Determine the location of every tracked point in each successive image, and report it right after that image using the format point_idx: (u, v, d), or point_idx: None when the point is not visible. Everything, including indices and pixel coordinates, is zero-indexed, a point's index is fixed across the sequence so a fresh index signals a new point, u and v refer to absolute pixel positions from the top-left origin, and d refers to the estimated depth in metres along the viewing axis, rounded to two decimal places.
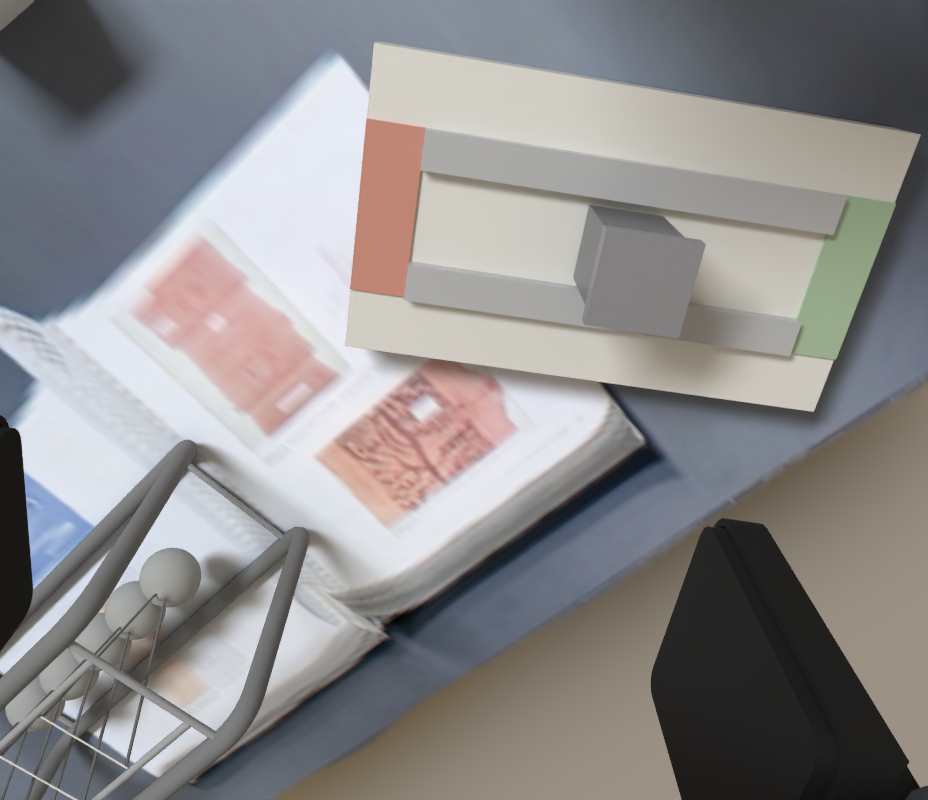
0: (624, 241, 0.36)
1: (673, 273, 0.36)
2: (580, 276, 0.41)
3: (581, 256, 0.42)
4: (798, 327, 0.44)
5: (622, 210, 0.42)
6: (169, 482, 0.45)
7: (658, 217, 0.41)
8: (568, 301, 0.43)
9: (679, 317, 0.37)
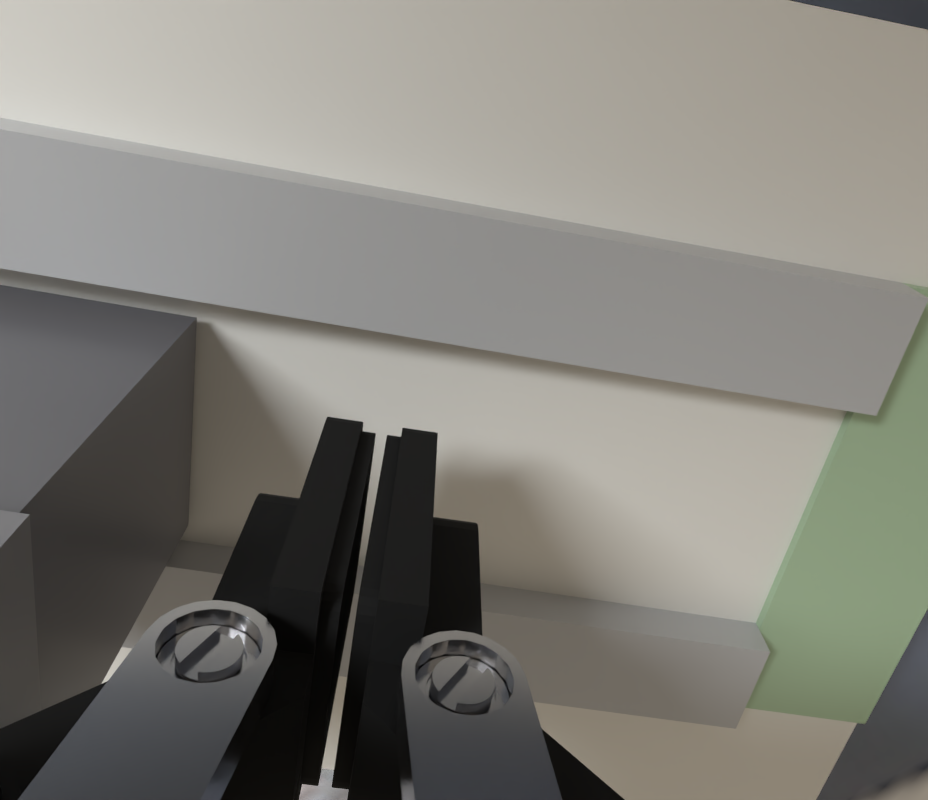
0: None
1: None
2: None
3: None
4: (760, 661, 0.15)
5: (48, 296, 0.12)
6: None
7: (162, 325, 0.12)
8: None
9: None
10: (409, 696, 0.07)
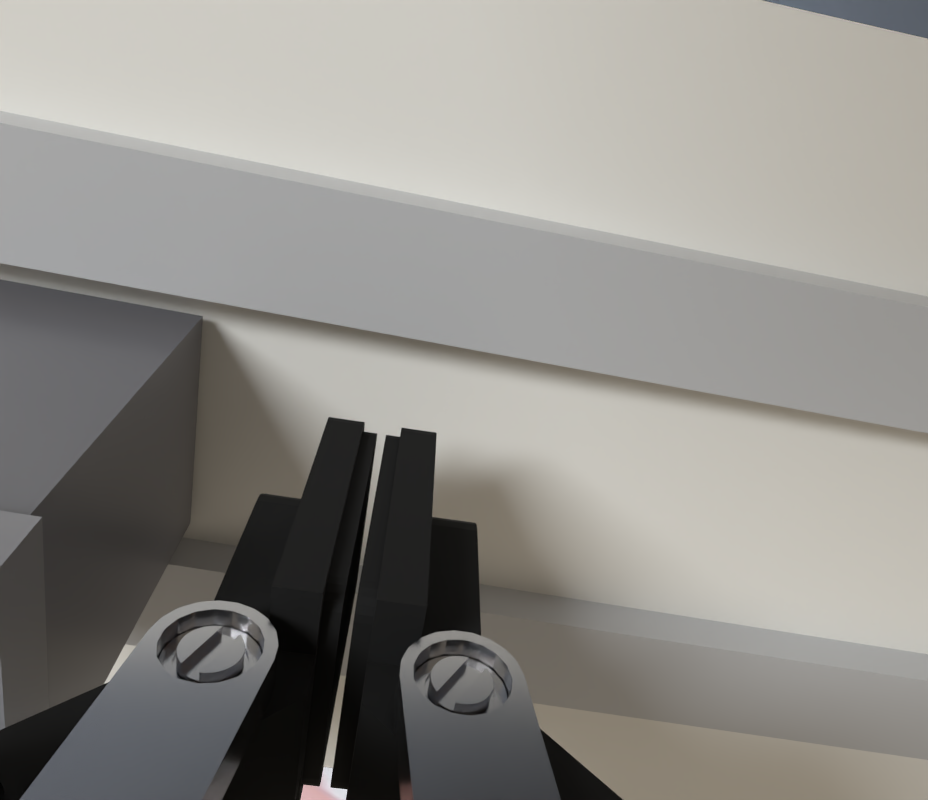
0: None
1: None
2: None
3: None
4: None
5: (54, 293, 0.12)
6: None
7: (168, 323, 0.12)
8: None
9: None
10: (407, 697, 0.07)
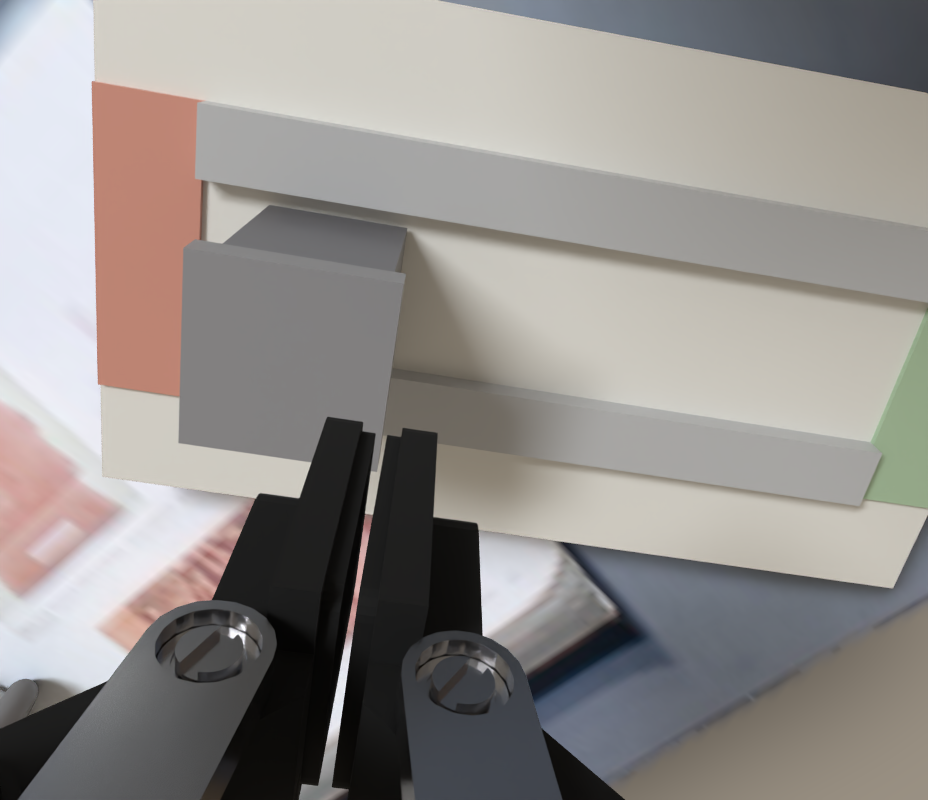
0: (227, 274, 0.17)
1: (345, 343, 0.17)
2: None
3: None
4: (876, 460, 0.26)
5: (330, 216, 0.23)
6: None
7: (393, 229, 0.23)
8: (478, 413, 0.25)
9: (371, 431, 0.18)
10: (409, 696, 0.07)
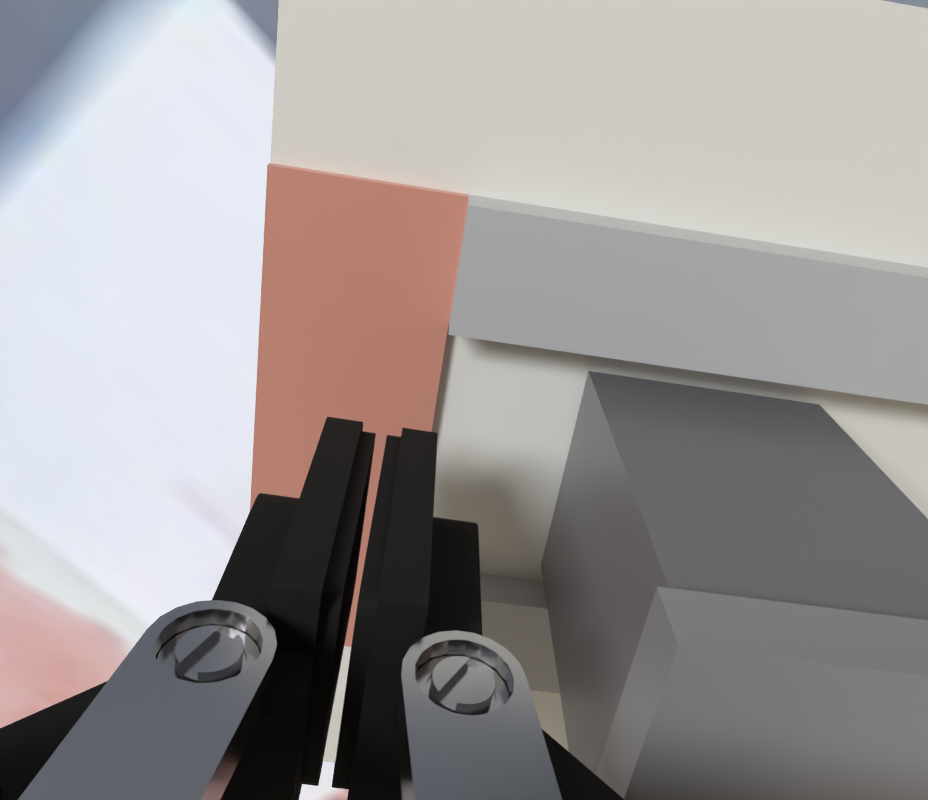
0: (766, 693, 0.07)
1: None
2: (559, 607, 0.13)
3: (563, 531, 0.13)
4: None
5: (694, 390, 0.13)
6: None
7: (810, 415, 0.13)
8: None
9: None
10: (409, 697, 0.07)
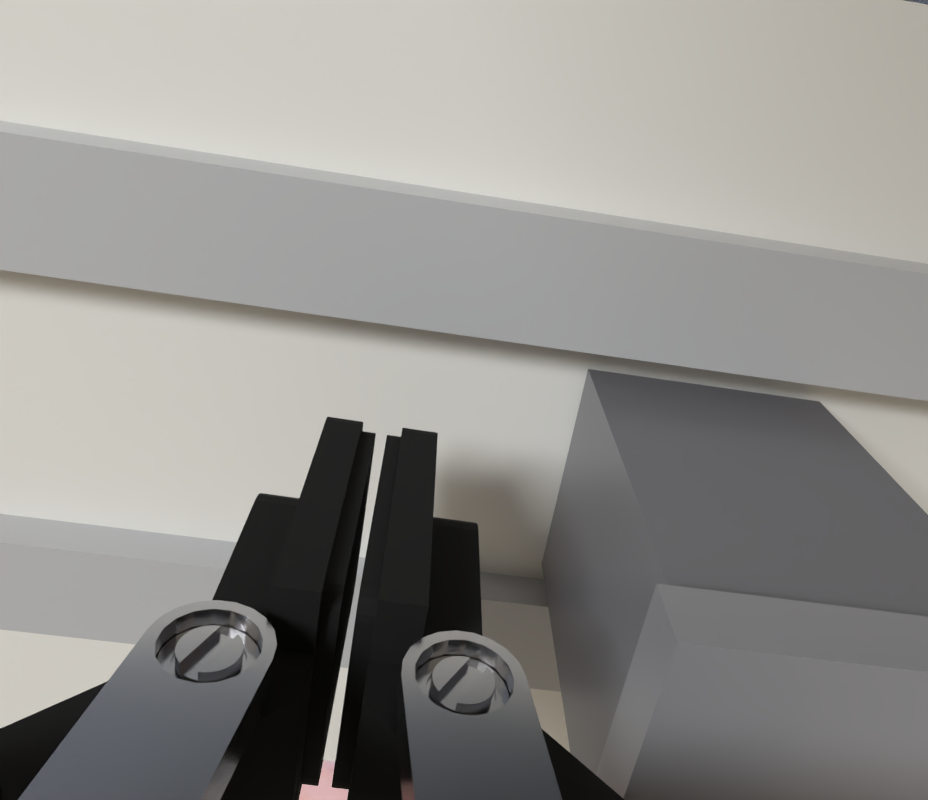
0: (766, 690, 0.07)
1: None
2: (560, 605, 0.13)
3: (564, 530, 0.13)
4: None
5: (694, 387, 0.13)
6: None
7: (811, 412, 0.13)
8: None
9: None
10: (408, 696, 0.07)
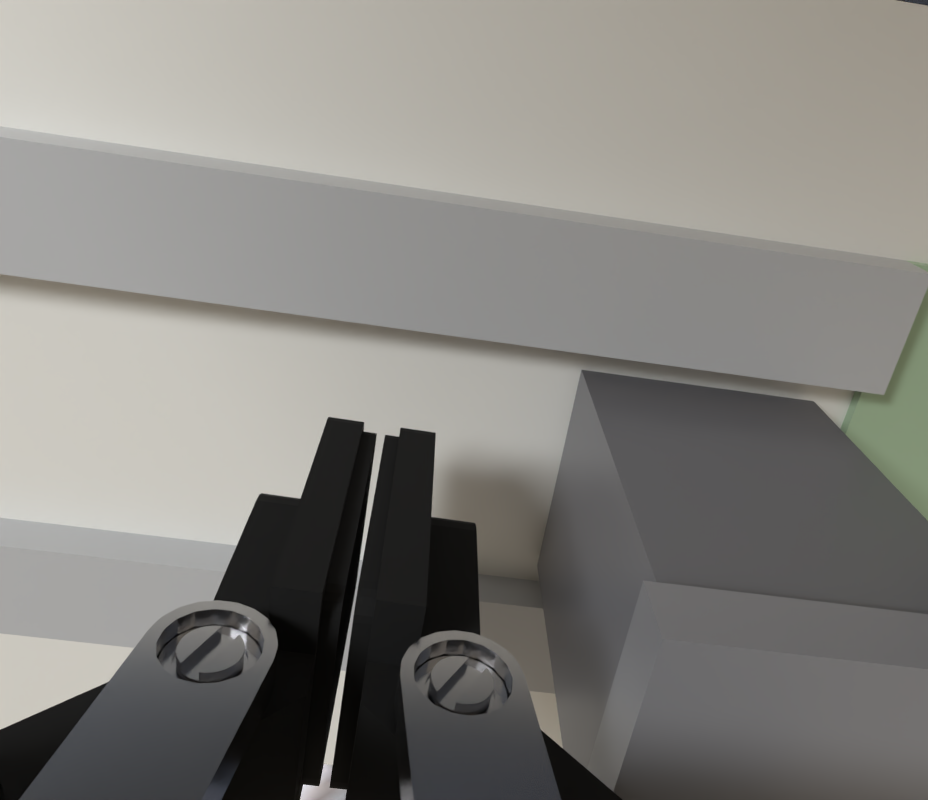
0: (752, 687, 0.07)
1: None
2: (554, 606, 0.13)
3: (558, 531, 0.13)
4: None
5: (687, 387, 0.13)
6: None
7: (804, 412, 0.13)
8: (72, 587, 0.14)
9: None
10: (406, 697, 0.07)
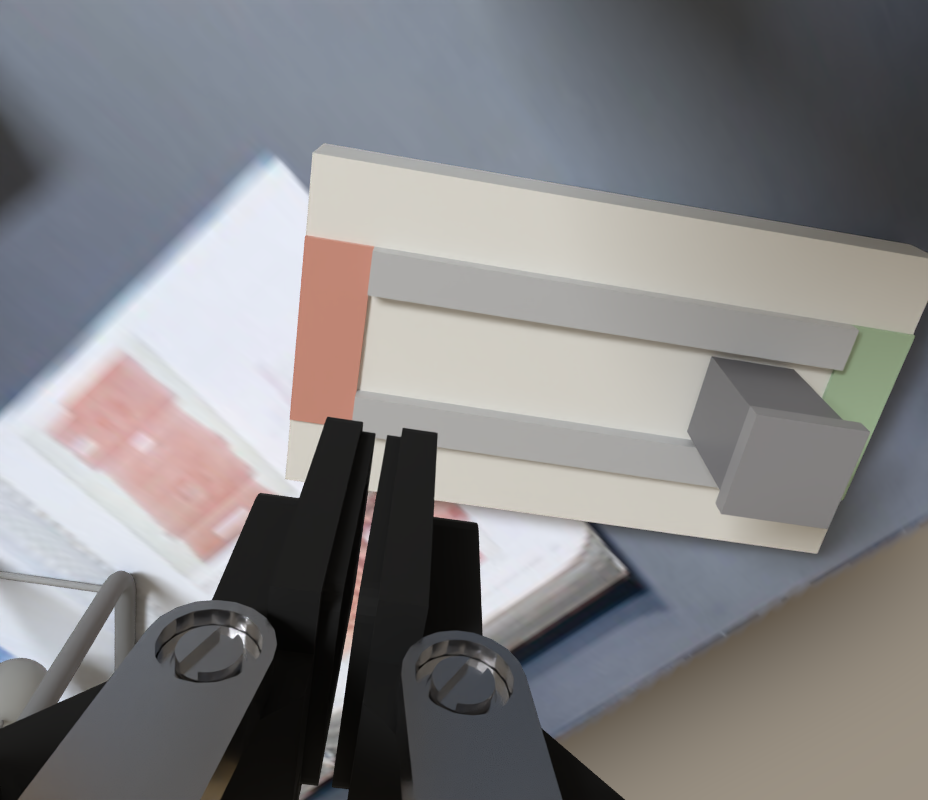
0: (776, 427, 0.31)
1: (829, 462, 0.31)
2: (701, 438, 0.36)
3: (701, 414, 0.37)
4: None
5: (749, 363, 0.37)
6: None
7: (790, 372, 0.37)
8: (539, 438, 0.38)
9: (831, 507, 0.32)
10: (409, 696, 0.07)
